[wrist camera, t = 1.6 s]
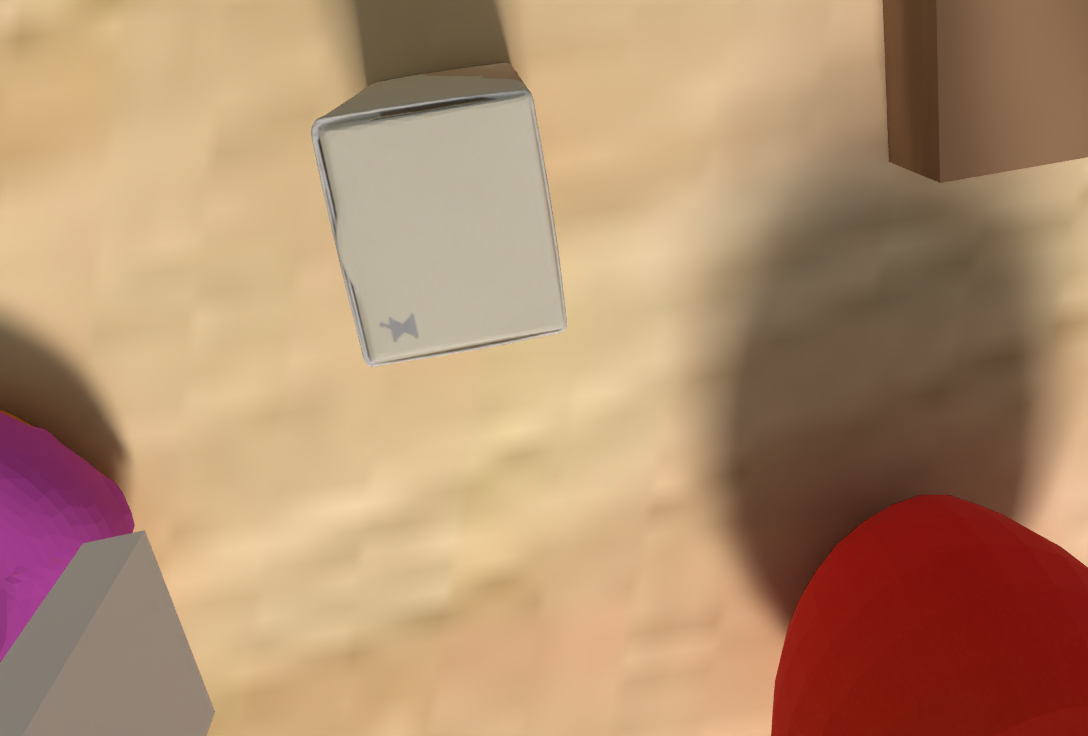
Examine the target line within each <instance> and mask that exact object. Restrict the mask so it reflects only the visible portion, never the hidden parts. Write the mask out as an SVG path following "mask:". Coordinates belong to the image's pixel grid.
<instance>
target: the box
mask: <svg viewBox="0 0 1088 736" xmlns="http://www.w3.org/2000/svg"><path fill="white" fill-rule="evenodd" d="M311 135H312V141H313V146H314V151H315V156H316V160H317V165H318V170H319V175H320V180H321V184H322V189H323V194H324V198H325V202H326V206H327V210H328V215H329V219H330V223H331V227H332V232H333V236H334V240H335V244H336V249H337V253H338V257H339V261H340V266H341V270H342V274H343V278H344V282H345V286H346V290H347V294H348V298H349V302H350V306H351V310H352V314H353V318H354V322H355V326H356V330H357V334H358V338H359V342H360V345H361V349H362V355H363V358H364V361H365V362H366V363H367V365H368V366H370V367H375V366H381V365H387V364H393V363H399V362H405V361H413V360H420V359H426V358H432V357H438V356H443V355H448V354H455V353H461V352H466V351H471V350H479V349H484V348H488V347H493V346H498V345H504V344H509V343H514V342H519V341H524V340H528V339H533V338H537V337H542V336H548V335H553V334H557V333H561V332H563V331H564V330H565V329H566V324H567V321H566V311H565V302H564V293H563V285H562V277H561V268H560V259H559V252H558V246H557V239H556V232H555V225H554V218H553V212H552V206H551V199H550V193H549V187H548V181H547V175H546V169H545V163H544V157H543V152H542V146H541V140H540V135H539V130H538V124H537V119H536V113H535V106H534V100H533V97H532V94H531V92H530V91H529V90H528V89H527V87H526V85H525V84H524V83H523V81H522V80H521V78H520V77H519V76H518V74H517V72H516V71H515V70H514V68H513V67H512V65H511V64H510V63H497V64H489V65H481V66H473V67H466V68H459V69H452V70H445V71H438V72H431V73H425V74H419V75H413V76H407V77H401V78H396V79H391V80H385V81H380V82H375V83H372V84H371V85H369V86H368V87H367V88H365V89H364V90H362V91H361V92H360V93H358V94H357V95H356V96H354V97H352V98H351V99H349V100H348V101H346V102H344V103H343V104H341V105H340V106H338V107H337V108H336V109H334V110H333V111H331V112H329V113H328V114H326V115H325V116H322V117H320V118H318V119H317V120H316V121H315V122H314V124H313V126H312V130H311Z"/></svg>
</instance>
